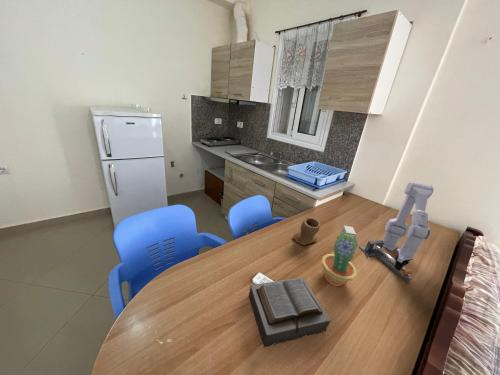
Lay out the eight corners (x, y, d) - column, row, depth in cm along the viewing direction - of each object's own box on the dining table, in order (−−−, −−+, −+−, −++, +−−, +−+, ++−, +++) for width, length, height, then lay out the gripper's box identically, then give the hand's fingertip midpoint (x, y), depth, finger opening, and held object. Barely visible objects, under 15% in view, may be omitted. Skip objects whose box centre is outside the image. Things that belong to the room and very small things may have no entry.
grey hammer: (374, 246, 123) (379, 236, 121) (416, 281, 100) (423, 271, 97) (358, 247, 120) (363, 238, 117) (398, 284, 97) (404, 273, 94)
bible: (332, 347, 67) (341, 328, 63) (252, 348, 64) (257, 329, 60) (307, 287, 88) (313, 271, 85) (247, 286, 85) (250, 268, 81)
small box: (350, 249, 117) (356, 234, 113) (340, 247, 118) (346, 232, 114) (347, 241, 125) (353, 227, 121) (338, 239, 125) (343, 224, 121)
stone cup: (304, 250, 111) (311, 227, 105) (290, 237, 120) (295, 216, 114) (322, 243, 119) (329, 222, 113) (307, 232, 128) (313, 211, 122)
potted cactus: (310, 269, 98) (324, 227, 89) (334, 263, 105) (349, 222, 95) (334, 296, 86) (353, 250, 76) (358, 287, 92) (379, 243, 82)
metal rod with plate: (378, 247, 117) (380, 244, 116) (411, 274, 100) (413, 270, 99) (370, 248, 116) (372, 244, 115) (402, 275, 98) (404, 271, 97)
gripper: (406, 237, 105) (395, 257, 110) (395, 246, 96) (384, 267, 102) (422, 246, 100) (410, 266, 105) (412, 255, 91) (399, 277, 97)
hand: (398, 267), depth 103 cm, fingers closed on metal rod with plate, 3 cm apart
